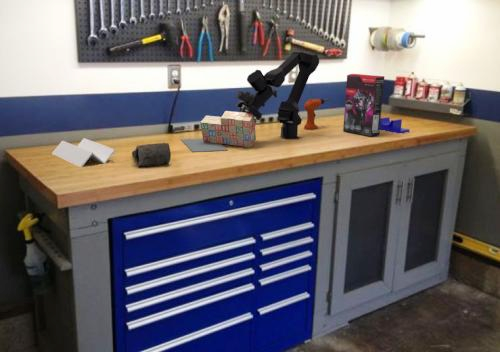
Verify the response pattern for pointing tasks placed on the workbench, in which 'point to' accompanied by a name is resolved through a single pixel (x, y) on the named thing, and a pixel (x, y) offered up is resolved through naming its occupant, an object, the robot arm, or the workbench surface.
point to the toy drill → (312, 112)
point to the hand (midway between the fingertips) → (234, 125)
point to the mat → (202, 145)
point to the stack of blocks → (229, 129)
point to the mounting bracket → (392, 125)
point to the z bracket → (83, 152)
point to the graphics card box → (363, 104)
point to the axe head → (152, 154)
